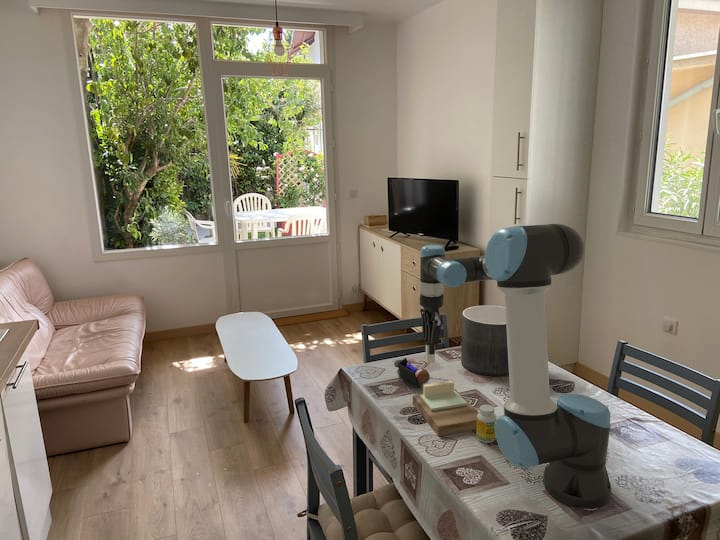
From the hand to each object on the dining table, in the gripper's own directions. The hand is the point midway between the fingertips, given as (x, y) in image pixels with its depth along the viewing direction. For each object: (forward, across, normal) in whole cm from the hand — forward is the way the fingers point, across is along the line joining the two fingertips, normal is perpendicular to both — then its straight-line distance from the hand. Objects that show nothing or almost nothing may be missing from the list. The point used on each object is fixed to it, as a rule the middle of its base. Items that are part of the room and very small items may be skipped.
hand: (430, 361), depth 169 cm
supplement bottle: (+12, -29, -5) cm, 32 cm away
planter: (+13, +16, -32) cm, 38 cm away
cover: (+9, -11, 0) cm, 14 cm away
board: (+12, -14, 0) cm, 18 cm away
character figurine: (+13, +11, +2) cm, 17 cm away
